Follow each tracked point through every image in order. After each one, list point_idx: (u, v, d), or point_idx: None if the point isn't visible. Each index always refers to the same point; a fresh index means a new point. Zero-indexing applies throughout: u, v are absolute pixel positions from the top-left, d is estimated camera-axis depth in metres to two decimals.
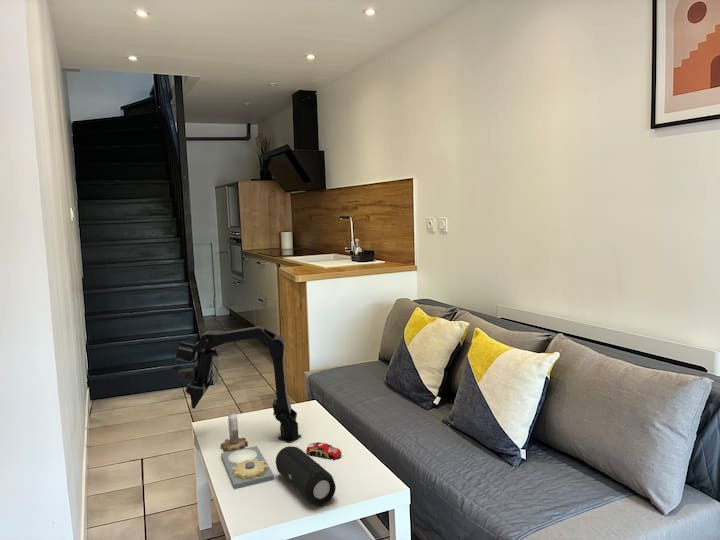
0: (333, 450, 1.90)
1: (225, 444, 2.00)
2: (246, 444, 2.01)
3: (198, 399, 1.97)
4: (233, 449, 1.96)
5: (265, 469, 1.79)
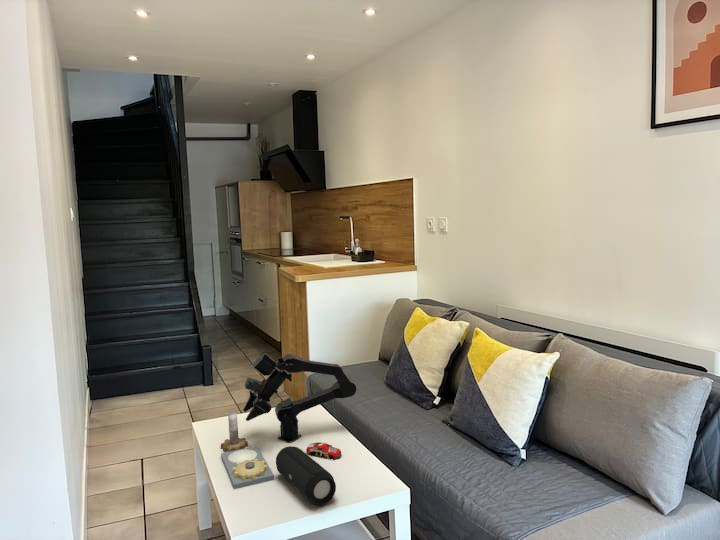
0: (333, 450, 1.90)
1: (225, 444, 2.00)
2: (246, 444, 2.01)
3: (258, 414, 1.96)
4: (233, 449, 1.96)
5: (265, 469, 1.79)
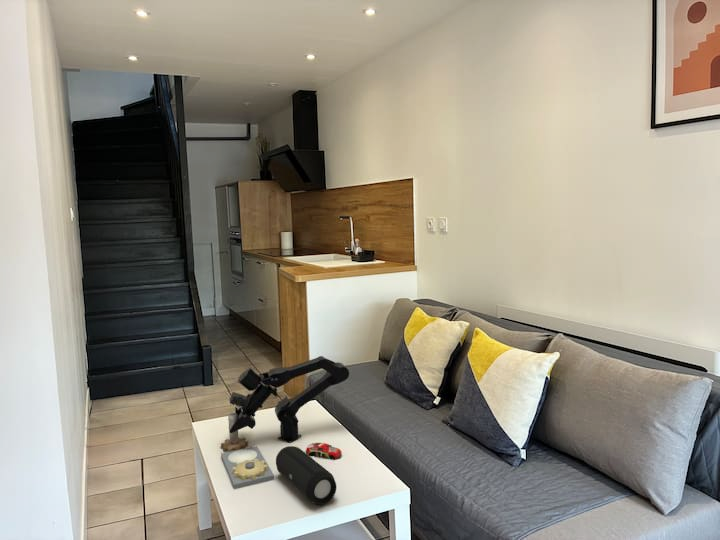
0: (333, 450, 1.91)
1: (225, 444, 2.00)
2: (246, 444, 2.01)
3: (241, 427, 1.98)
4: (233, 449, 1.96)
5: (265, 469, 1.79)
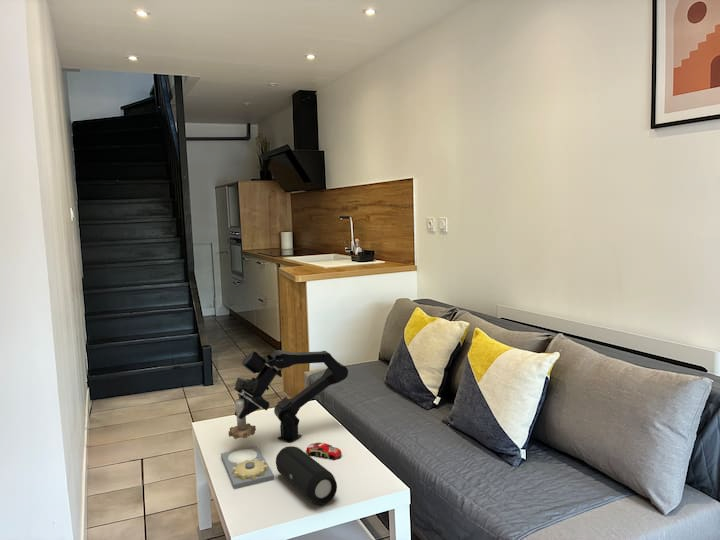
0: (333, 450, 1.90)
1: (234, 431, 1.95)
2: (254, 428, 1.98)
3: (251, 411, 1.95)
4: (245, 434, 1.92)
5: (265, 469, 1.79)
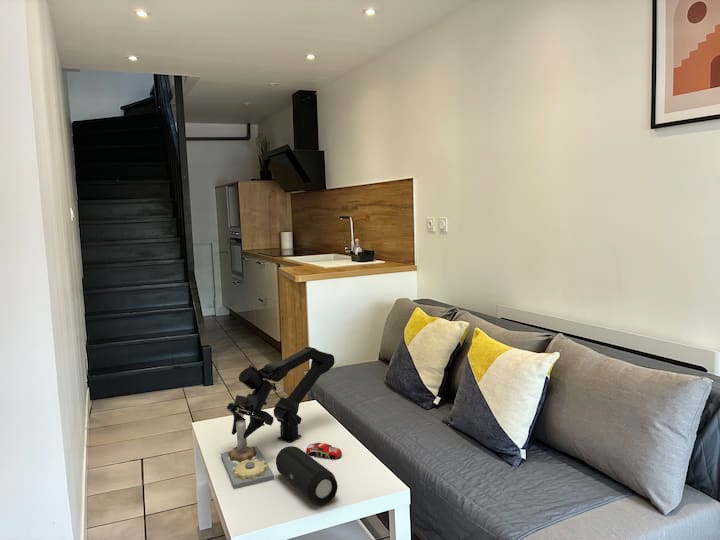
0: (333, 450, 1.91)
1: (236, 455, 1.87)
2: (254, 449, 1.93)
3: (255, 429, 1.88)
4: (250, 456, 1.86)
5: (265, 469, 1.79)
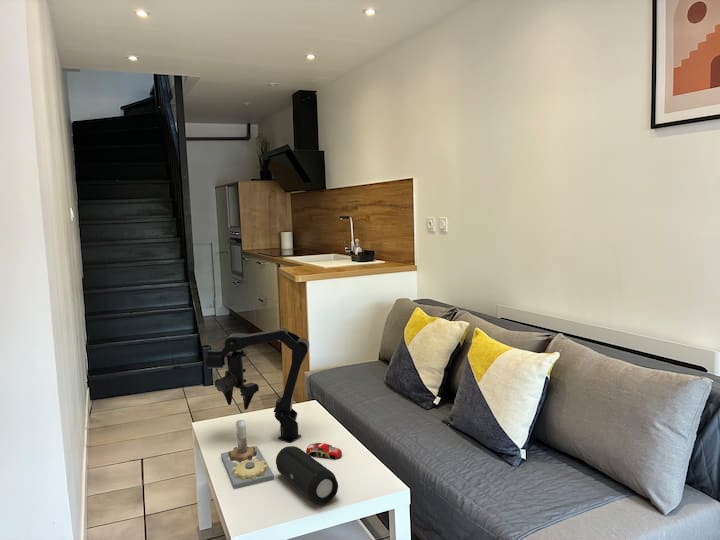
0: (333, 450, 1.91)
1: (236, 455, 1.87)
2: (254, 449, 1.93)
3: (251, 398, 2.03)
4: (250, 456, 1.86)
5: (265, 469, 1.79)
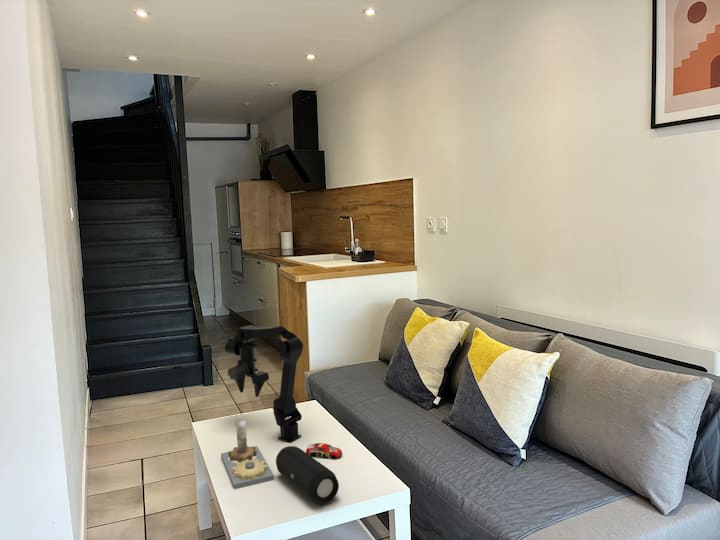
0: (334, 450, 1.91)
1: (236, 455, 1.87)
2: (254, 449, 1.93)
3: (261, 386, 2.16)
4: (250, 456, 1.86)
5: (265, 469, 1.79)
